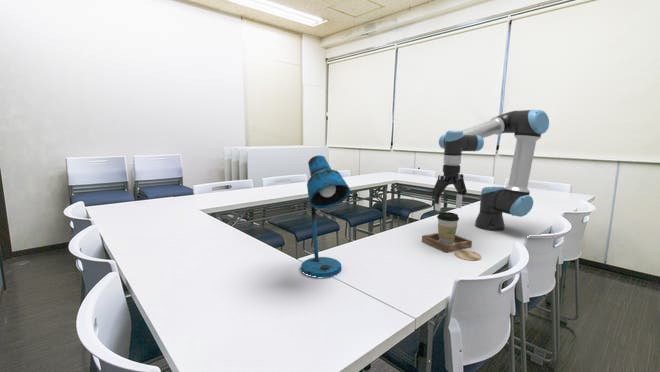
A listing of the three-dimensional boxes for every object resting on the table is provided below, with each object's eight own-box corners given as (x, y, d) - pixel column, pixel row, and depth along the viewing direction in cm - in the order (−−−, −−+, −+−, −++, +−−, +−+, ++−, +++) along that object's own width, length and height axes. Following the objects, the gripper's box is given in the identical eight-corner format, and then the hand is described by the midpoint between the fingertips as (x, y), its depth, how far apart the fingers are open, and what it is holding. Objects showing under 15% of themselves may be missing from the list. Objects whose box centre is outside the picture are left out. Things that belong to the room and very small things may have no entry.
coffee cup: (458, 248, 150) (461, 217, 147) (436, 247, 151) (438, 216, 149) (455, 241, 159) (457, 212, 156) (434, 240, 161) (436, 211, 158)
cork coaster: (466, 249, 149) (466, 248, 149) (487, 257, 139) (487, 257, 139) (449, 253, 144) (449, 252, 144) (469, 262, 134) (469, 261, 134)
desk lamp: (315, 287, 113) (315, 159, 105) (294, 264, 132) (292, 154, 124) (355, 278, 119) (357, 158, 111) (329, 257, 139) (330, 153, 131)
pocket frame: (445, 236, 166) (446, 231, 165) (471, 247, 152) (471, 241, 151) (421, 241, 159) (422, 235, 158) (446, 252, 145) (446, 246, 144)
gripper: (464, 162, 157) (460, 204, 161) (425, 164, 146) (422, 209, 150) (477, 164, 150) (473, 208, 154) (437, 166, 139) (434, 213, 143)
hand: (448, 209), depth 152 cm, fingers open, 13 cm apart
